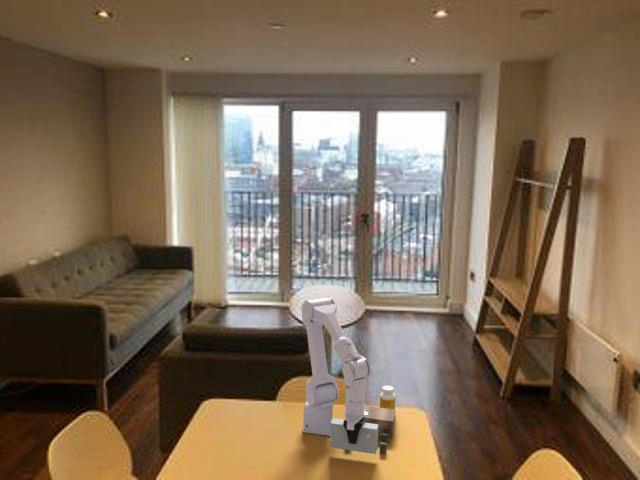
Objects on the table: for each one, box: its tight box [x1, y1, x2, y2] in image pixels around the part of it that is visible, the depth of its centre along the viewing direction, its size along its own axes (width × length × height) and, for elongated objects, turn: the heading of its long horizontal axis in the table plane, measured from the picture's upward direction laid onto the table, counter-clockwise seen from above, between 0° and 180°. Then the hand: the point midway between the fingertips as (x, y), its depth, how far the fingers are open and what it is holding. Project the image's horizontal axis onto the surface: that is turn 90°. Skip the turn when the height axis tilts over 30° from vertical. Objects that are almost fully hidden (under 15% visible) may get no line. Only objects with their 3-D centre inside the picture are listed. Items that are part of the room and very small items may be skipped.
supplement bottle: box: [379, 385, 396, 410], centre depth 193 cm, size 5×5×10 cm
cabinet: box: [362, 405, 397, 455], centre depth 178 cm, size 15×17×6 cm
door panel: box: [329, 417, 379, 455], centre depth 165 cm, size 14×4×8 cm, turn 77°
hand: (353, 440), depth 166 cm, fingers closed on door panel, 3 cm apart
